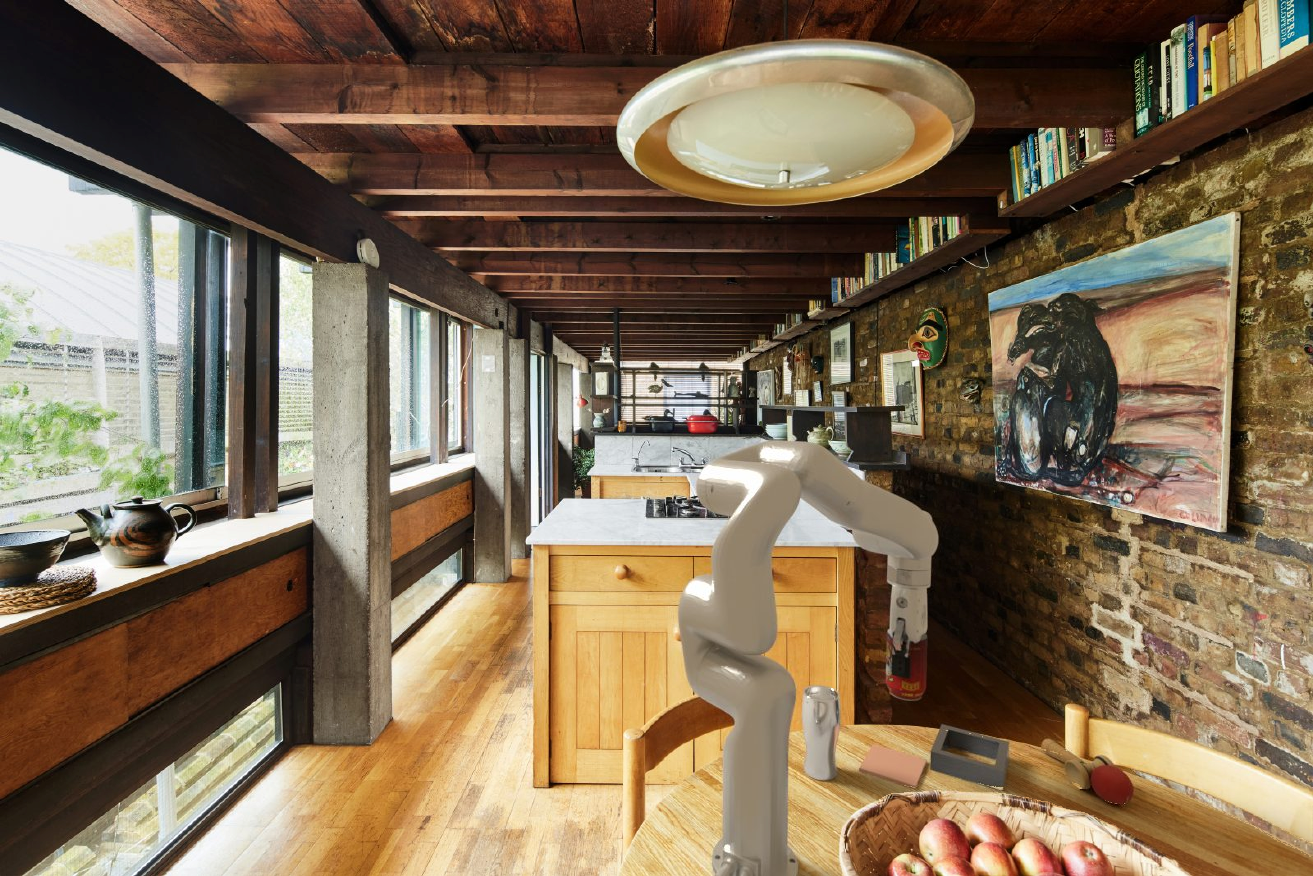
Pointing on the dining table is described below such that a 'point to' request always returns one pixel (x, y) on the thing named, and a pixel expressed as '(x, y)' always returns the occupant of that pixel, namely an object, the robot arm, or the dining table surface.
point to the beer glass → (820, 730)
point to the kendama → (1093, 774)
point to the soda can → (917, 681)
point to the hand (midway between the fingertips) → (905, 668)
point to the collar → (967, 766)
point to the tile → (893, 765)
